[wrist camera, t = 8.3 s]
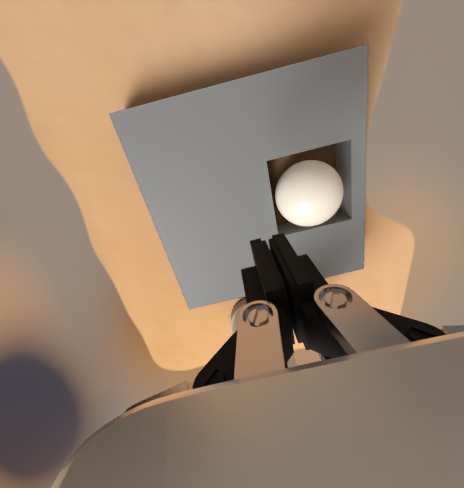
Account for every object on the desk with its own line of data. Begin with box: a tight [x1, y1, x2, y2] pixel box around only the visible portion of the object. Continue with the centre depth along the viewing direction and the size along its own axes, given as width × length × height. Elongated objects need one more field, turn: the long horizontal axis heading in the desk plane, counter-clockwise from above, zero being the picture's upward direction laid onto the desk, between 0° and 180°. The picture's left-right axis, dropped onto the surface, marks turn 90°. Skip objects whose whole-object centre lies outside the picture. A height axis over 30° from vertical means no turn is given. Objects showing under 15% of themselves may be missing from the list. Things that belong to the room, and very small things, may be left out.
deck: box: [109, 44, 368, 309], centre depth 23 cm, size 20×20×3 cm
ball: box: [275, 160, 343, 226], centre depth 22 cm, size 6×6×6 cm
